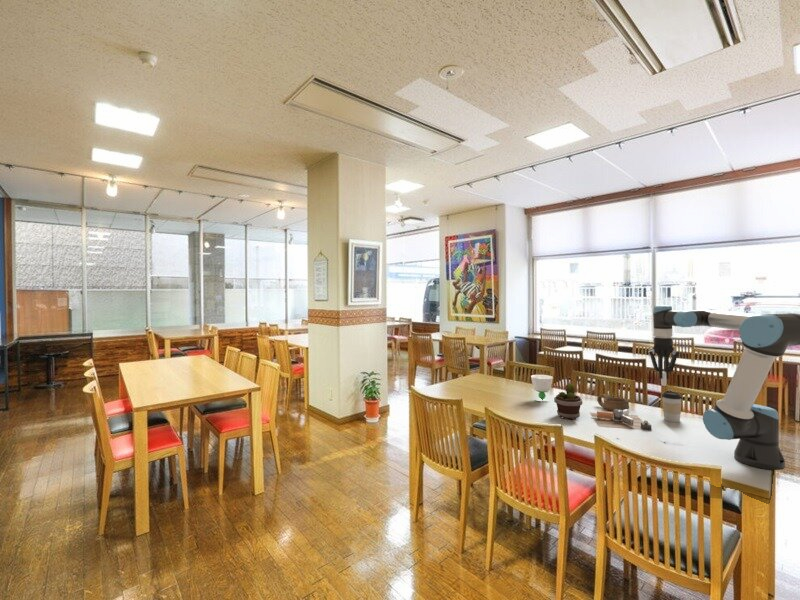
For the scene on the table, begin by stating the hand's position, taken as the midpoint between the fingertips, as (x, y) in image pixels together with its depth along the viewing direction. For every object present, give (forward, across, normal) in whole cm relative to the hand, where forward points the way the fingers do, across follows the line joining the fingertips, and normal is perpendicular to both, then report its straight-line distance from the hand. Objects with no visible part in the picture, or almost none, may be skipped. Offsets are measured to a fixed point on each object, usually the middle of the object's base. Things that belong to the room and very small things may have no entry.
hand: (663, 385), depth 185 cm
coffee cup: (+25, -12, -26) cm, 38 cm away
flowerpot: (+25, +41, -19) cm, 51 cm away
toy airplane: (+24, +17, -13) cm, 32 cm away
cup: (+25, +53, -51) cm, 78 cm away
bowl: (+25, +15, -36) cm, 46 cm away
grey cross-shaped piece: (+23, +19, -13) cm, 33 cm away
